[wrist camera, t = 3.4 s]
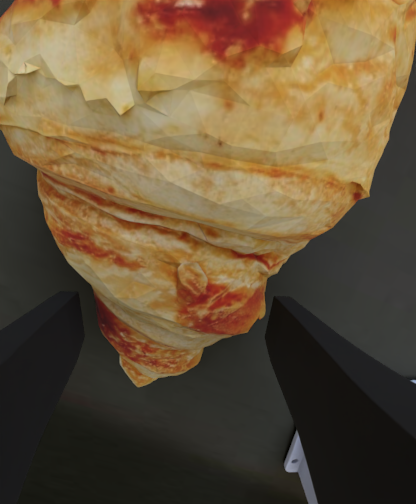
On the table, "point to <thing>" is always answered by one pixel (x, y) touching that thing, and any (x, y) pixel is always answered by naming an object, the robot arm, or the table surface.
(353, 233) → the table surface
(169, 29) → the croissant
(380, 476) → the robot arm
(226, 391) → the table surface
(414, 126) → the table surface
